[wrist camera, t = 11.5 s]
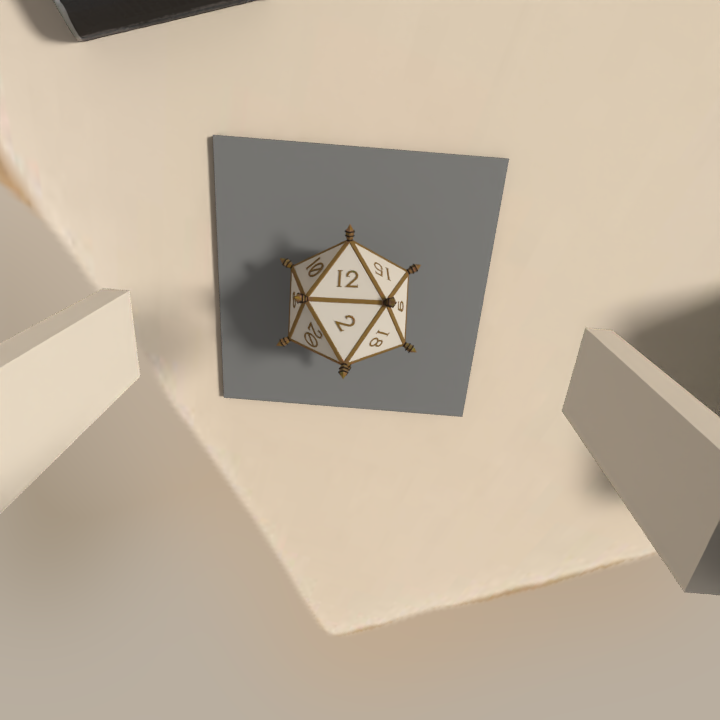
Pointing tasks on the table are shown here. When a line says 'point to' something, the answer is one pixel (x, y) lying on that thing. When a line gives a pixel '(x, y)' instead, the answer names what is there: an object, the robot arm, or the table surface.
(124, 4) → the external hard drive
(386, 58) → the table surface
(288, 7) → the table surface
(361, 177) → the mat
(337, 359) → the game die
